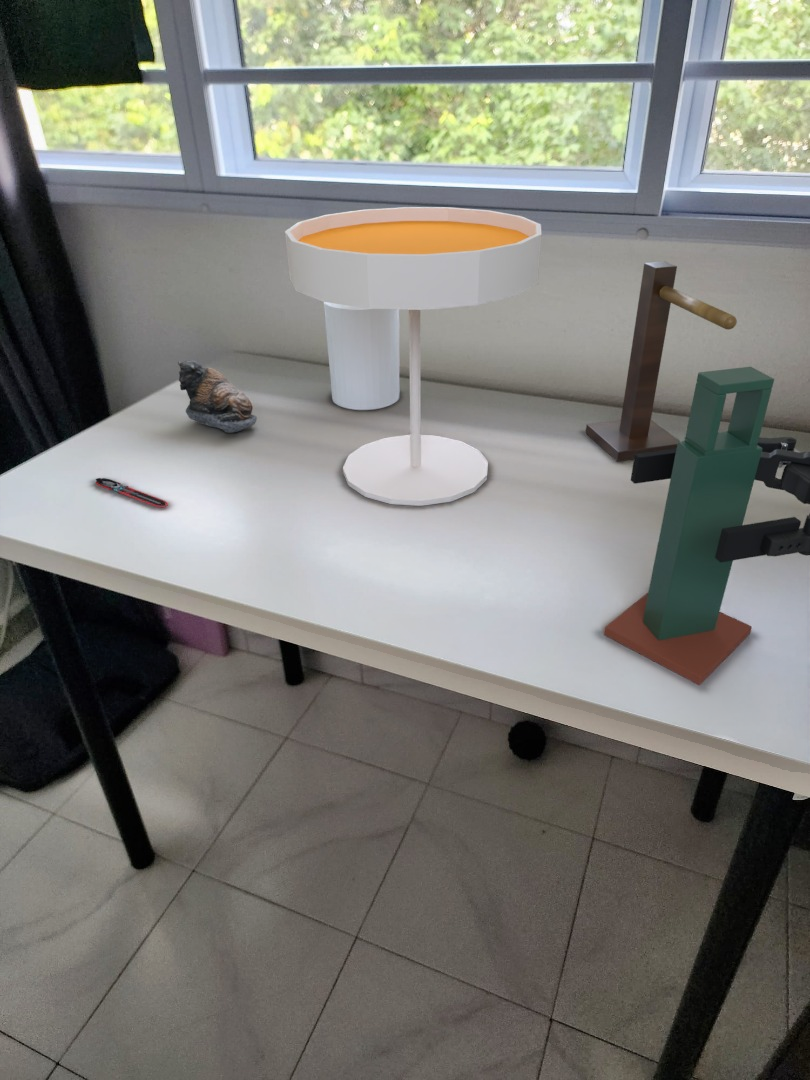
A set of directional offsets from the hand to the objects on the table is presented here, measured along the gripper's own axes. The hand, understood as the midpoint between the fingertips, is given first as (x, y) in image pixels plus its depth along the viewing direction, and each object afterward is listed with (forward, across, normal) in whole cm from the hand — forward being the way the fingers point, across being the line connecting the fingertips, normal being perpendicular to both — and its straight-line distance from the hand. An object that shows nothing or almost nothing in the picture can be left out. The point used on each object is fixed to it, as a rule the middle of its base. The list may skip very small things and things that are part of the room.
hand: (673, 504), depth 64 cm
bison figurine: (+38, +63, -15) cm, 75 cm away
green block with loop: (-3, 0, -14) cm, 14 cm away
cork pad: (-3, 0, -15) cm, 15 cm away
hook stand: (-20, +35, -15) cm, 43 cm away
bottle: (+13, +69, -15) cm, 72 cm away
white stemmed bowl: (+12, +41, -15) cm, 45 cm away
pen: (+50, +44, -15) cm, 69 cm away
